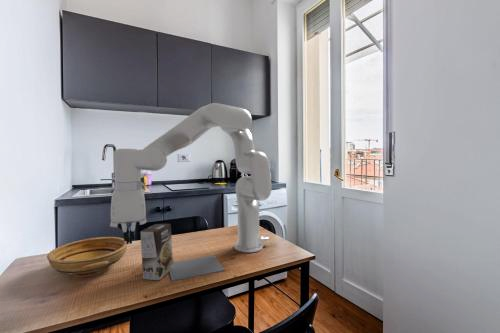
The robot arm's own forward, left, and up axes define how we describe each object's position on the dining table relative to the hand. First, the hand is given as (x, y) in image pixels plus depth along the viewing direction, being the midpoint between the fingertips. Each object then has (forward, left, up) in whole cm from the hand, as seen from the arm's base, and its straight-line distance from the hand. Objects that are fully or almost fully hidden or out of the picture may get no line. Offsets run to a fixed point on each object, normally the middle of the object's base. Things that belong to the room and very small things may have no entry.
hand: (129, 242), depth 81 cm
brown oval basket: (+13, -14, -12) cm, 23 cm away
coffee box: (-9, 0, -12) cm, 15 cm away
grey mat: (-21, 0, -12) cm, 25 cm away
